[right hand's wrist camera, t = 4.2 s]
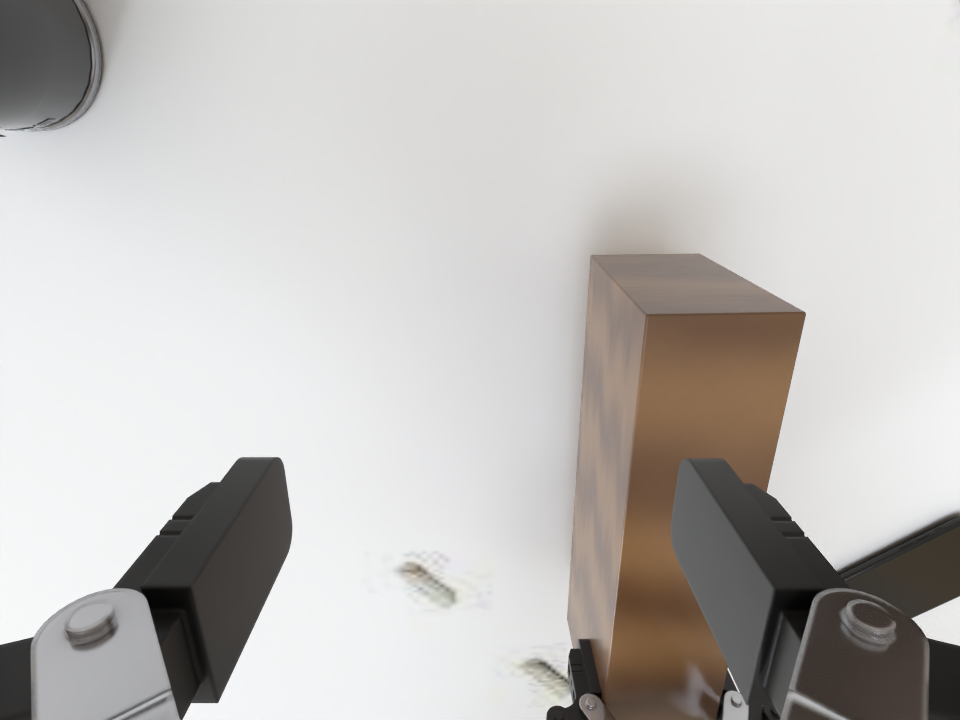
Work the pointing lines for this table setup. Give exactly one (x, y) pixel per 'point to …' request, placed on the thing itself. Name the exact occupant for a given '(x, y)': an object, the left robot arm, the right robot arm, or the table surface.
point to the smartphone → (914, 571)
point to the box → (665, 462)
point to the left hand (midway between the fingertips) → (638, 647)
